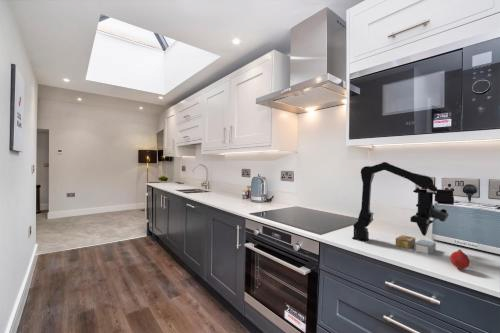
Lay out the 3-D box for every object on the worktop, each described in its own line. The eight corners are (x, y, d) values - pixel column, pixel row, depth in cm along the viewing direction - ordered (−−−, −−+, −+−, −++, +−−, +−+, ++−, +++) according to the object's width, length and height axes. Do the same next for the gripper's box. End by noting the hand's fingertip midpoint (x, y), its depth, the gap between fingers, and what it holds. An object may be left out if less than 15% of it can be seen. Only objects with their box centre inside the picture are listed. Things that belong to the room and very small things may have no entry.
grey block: (414, 242, 113) (420, 239, 119) (414, 251, 113) (420, 247, 119) (429, 246, 109) (435, 242, 114) (429, 255, 109) (435, 250, 114)
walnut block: (395, 238, 120) (402, 234, 126) (395, 246, 120) (401, 242, 126) (409, 241, 115) (415, 237, 121) (409, 249, 116) (415, 245, 121)
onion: (449, 265, 98) (450, 245, 98) (468, 269, 94) (469, 249, 94) (449, 269, 93) (450, 249, 93) (469, 274, 90) (470, 253, 89)
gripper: (440, 207, 100) (439, 244, 101) (452, 203, 112) (451, 236, 112) (410, 203, 109) (409, 237, 109) (423, 199, 121) (423, 230, 121)
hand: (424, 235), depth 113 cm, fingers closed
